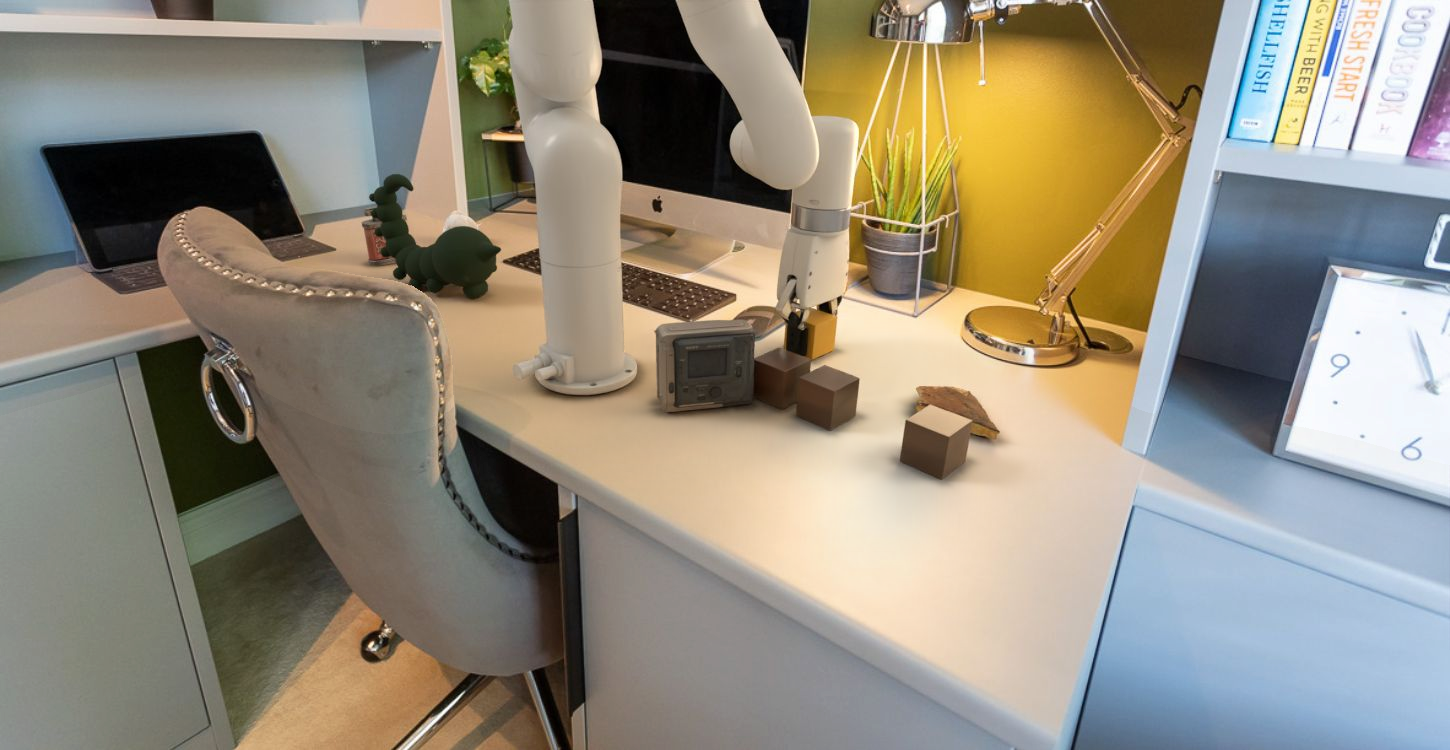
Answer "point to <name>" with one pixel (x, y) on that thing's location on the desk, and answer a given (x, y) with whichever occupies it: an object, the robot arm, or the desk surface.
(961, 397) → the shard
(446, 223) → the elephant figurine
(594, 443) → the desk surface
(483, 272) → the toy figurine
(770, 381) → the line block
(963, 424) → the line block
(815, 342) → the mustard block
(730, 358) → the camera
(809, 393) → the line block
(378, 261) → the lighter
